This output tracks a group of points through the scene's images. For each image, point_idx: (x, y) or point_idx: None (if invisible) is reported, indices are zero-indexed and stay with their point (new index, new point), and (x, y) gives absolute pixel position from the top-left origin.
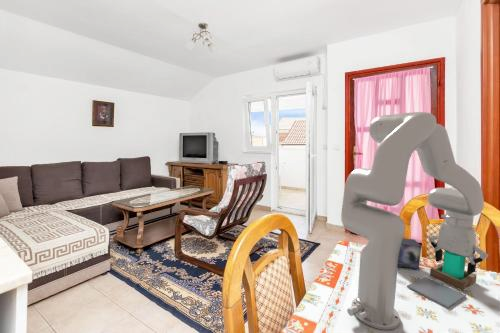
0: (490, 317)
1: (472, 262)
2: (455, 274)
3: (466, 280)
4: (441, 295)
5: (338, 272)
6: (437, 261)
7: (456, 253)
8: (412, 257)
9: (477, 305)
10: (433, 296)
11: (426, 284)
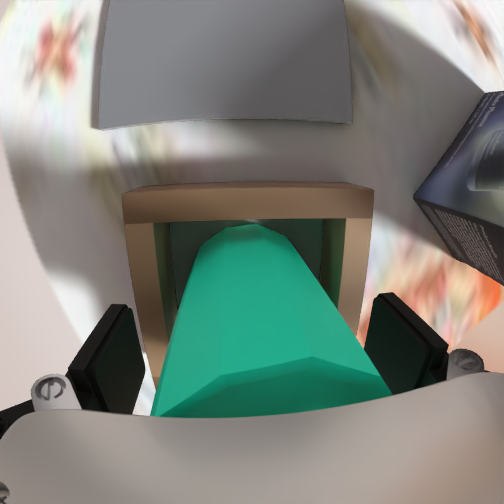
0: (5, 75)
1: (56, 391)
2: (209, 260)
3: (130, 254)
4: None
5: None
6: (378, 297)
7: (194, 421)
8: (499, 168)
9: (48, 108)
10: None
11: (292, 21)
